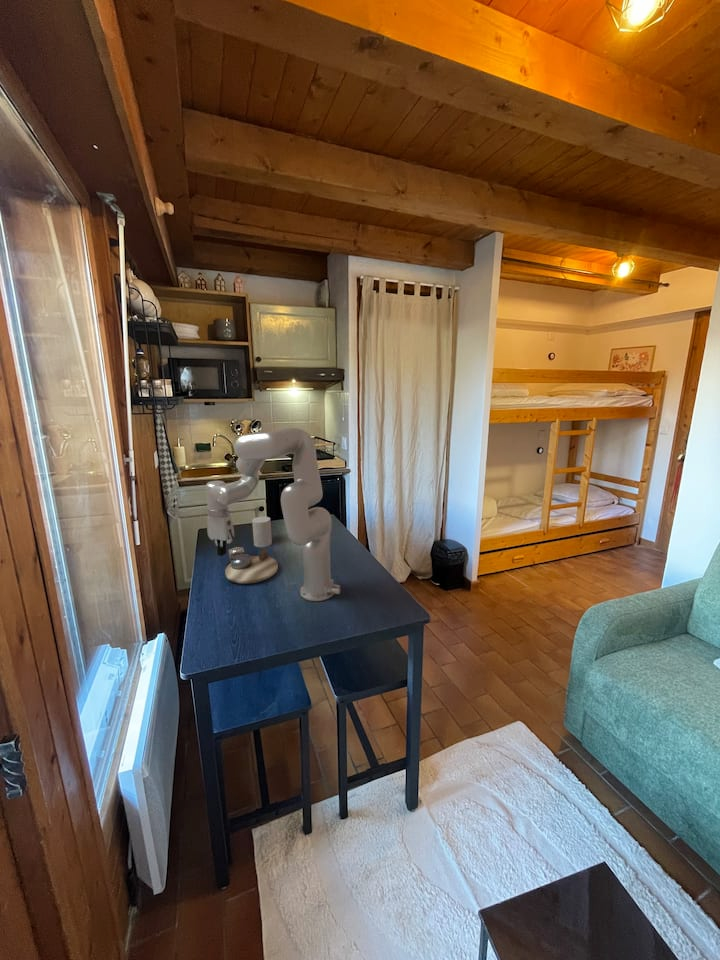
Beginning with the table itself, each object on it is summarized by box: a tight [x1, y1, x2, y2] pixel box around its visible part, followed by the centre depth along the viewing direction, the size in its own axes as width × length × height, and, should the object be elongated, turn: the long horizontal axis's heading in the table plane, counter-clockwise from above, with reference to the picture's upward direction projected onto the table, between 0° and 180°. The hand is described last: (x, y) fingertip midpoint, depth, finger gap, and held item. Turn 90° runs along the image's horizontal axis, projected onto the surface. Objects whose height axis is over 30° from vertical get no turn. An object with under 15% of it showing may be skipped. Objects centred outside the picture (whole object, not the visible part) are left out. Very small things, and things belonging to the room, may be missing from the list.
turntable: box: [224, 549, 279, 584], centre depth 150 cm, size 20×20×4 cm
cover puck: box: [229, 553, 252, 570], centre depth 151 cm, size 8×8×3 cm
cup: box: [251, 515, 273, 548], centre depth 176 cm, size 8×8×12 cm
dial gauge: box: [228, 546, 245, 562], centre depth 164 cm, size 6×5×4 cm
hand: (222, 554), depth 154 cm, fingers closed
